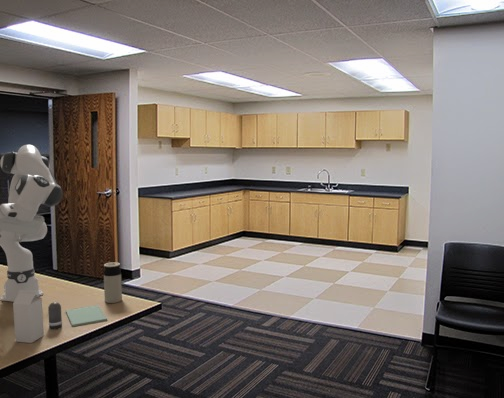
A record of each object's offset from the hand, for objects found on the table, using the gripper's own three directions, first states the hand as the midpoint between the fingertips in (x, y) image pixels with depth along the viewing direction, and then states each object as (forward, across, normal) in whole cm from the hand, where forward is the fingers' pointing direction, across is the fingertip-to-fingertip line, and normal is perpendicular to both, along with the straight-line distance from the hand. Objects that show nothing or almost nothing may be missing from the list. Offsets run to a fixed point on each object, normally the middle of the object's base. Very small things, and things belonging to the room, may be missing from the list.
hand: (8, 239), depth 191 cm
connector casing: (+18, -16, +34) cm, 42 cm away
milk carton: (+20, -4, +38) cm, 43 cm away
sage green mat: (+14, -30, +32) cm, 46 cm away
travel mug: (+12, -49, +24) cm, 56 cm away
